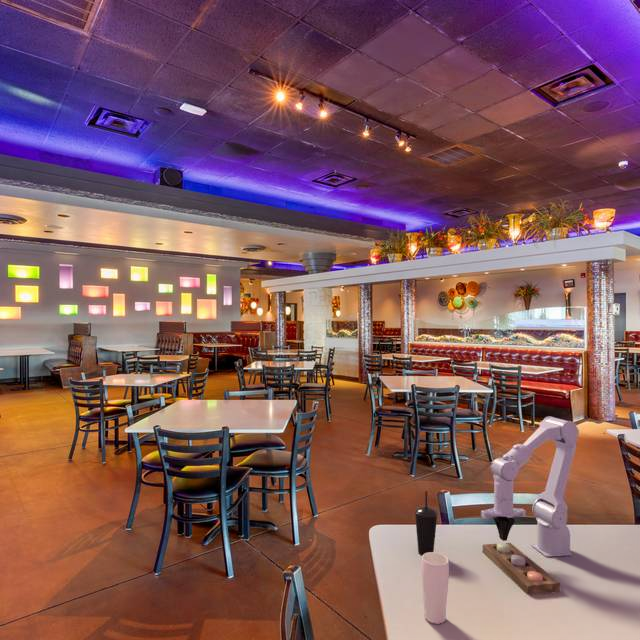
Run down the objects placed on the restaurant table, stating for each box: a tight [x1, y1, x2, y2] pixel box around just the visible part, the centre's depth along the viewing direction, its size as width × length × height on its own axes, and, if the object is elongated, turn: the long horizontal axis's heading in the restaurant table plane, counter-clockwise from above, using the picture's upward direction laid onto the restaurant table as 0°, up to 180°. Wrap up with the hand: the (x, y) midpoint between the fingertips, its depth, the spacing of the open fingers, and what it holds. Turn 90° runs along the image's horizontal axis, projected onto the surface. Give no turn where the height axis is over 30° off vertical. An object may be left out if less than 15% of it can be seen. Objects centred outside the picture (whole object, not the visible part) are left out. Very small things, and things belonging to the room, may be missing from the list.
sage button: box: [496, 542, 510, 554], centre depth 144 cm, size 4×4×3 cm
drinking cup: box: [413, 490, 439, 557], centre depth 146 cm, size 8×8×20 cm
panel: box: [482, 542, 561, 596], centre depth 136 cm, size 10×24×2 cm, turn 9°
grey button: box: [511, 555, 525, 567], centre depth 136 cm, size 4×4×3 cm
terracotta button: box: [527, 571, 543, 582], centre depth 128 cm, size 4×4×3 cm
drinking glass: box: [421, 551, 450, 625], centre depth 113 cm, size 7×7×15 cm
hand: (503, 539), depth 144 cm, fingers closed
